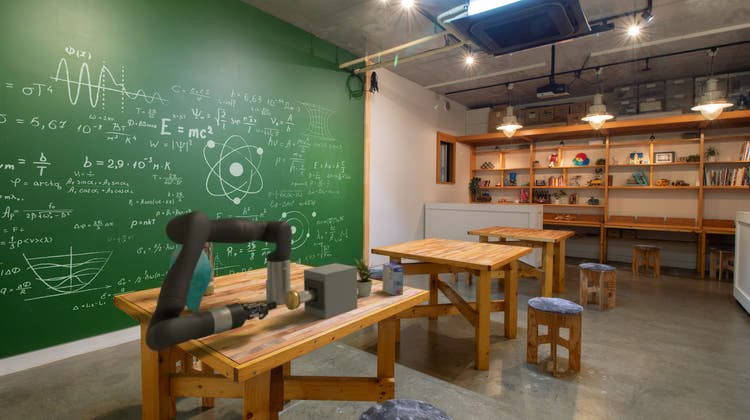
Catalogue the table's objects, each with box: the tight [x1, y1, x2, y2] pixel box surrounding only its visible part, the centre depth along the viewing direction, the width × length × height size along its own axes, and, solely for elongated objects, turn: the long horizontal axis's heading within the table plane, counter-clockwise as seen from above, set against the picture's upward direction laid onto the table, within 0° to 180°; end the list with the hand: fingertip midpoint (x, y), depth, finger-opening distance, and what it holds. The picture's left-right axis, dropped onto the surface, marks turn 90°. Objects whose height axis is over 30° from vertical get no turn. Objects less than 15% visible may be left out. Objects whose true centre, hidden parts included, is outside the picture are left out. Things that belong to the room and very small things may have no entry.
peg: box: [284, 288, 317, 311], centre depth 131 cm, size 15×6×6 cm, turn 139°
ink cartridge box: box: [382, 259, 404, 296], centre depth 163 cm, size 10×6×14 cm, turn 27°
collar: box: [303, 277, 324, 311], centre depth 134 cm, size 1×10×10 cm, turn 49°
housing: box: [303, 262, 358, 320], centre depth 140 cm, size 16×12×16 cm
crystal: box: [168, 244, 211, 313], centre depth 139 cm, size 12×14×30 cm
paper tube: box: [203, 242, 215, 296], centre depth 163 cm, size 7×7×25 cm
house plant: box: [348, 258, 378, 298], centre depth 161 cm, size 14×14×16 cm
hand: (275, 304), depth 121 cm, fingers closed
